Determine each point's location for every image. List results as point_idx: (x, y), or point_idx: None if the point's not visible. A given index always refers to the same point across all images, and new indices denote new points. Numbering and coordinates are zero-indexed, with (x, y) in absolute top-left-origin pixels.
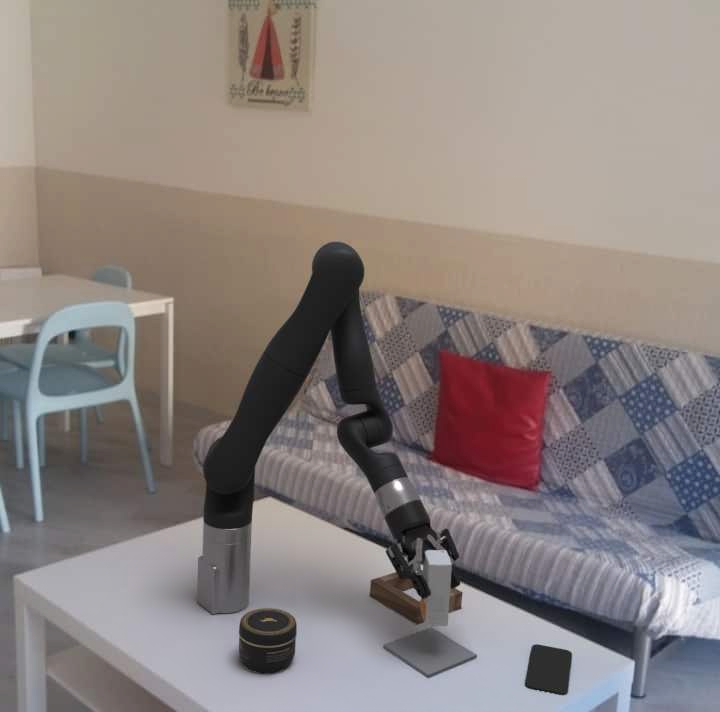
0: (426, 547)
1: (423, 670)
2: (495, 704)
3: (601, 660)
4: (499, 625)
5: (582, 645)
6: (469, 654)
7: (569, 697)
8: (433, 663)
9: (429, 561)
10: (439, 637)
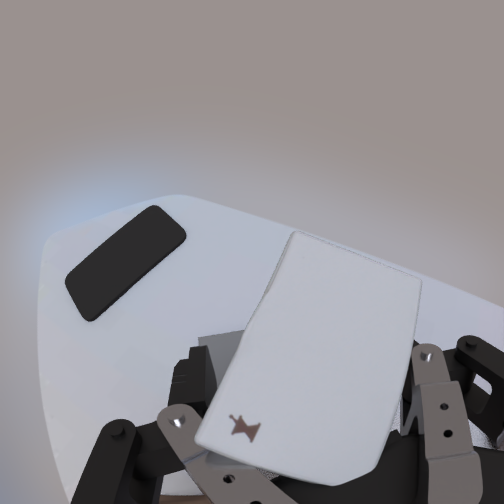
0: (351, 502)
1: None
2: (259, 219)
3: (55, 251)
4: (88, 407)
5: (41, 290)
6: (211, 344)
7: (154, 201)
8: None
9: (413, 312)
10: None
